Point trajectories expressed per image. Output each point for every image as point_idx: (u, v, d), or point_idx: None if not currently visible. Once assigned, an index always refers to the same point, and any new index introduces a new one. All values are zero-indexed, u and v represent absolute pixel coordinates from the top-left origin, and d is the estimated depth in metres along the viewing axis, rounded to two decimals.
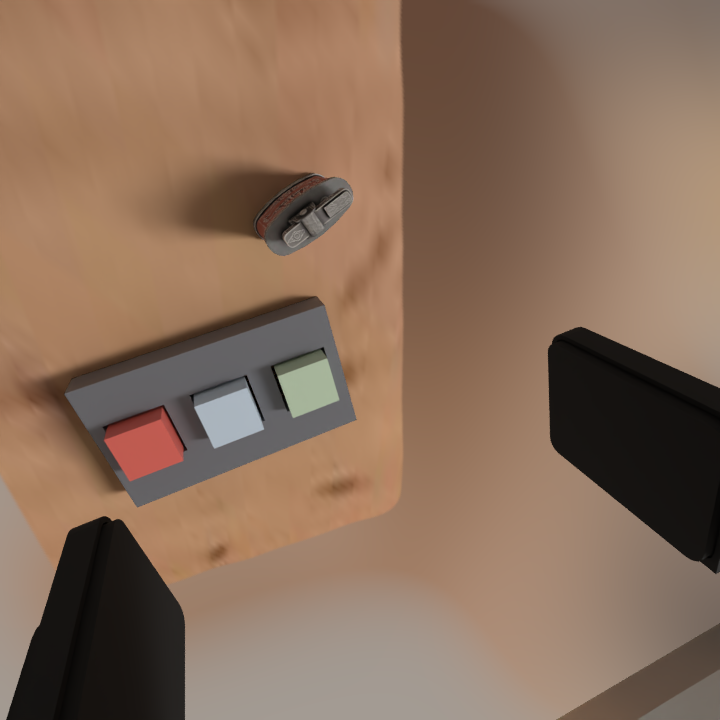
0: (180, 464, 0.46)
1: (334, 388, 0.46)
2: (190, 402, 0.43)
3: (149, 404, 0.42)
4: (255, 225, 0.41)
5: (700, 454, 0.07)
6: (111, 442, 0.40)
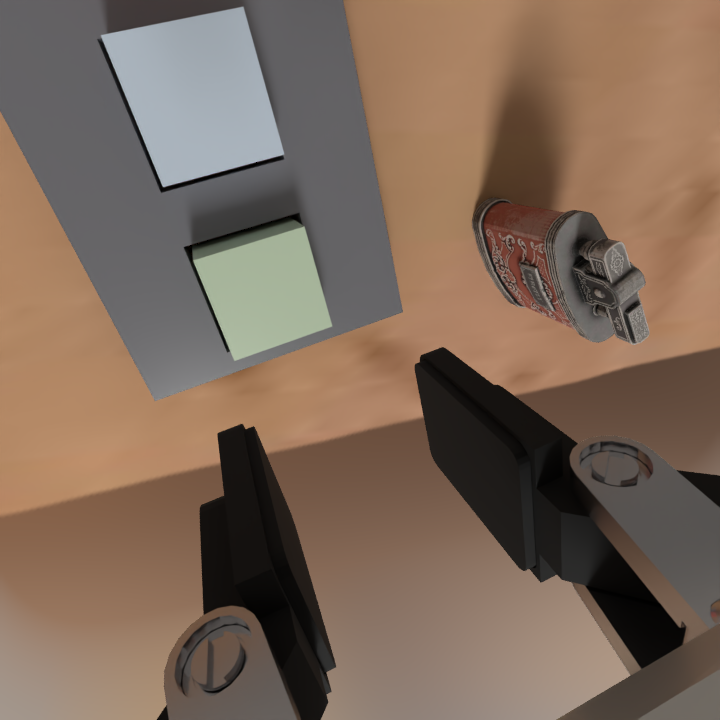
0: None
1: (263, 347, 0.22)
2: (222, 7, 0.18)
3: None
4: (503, 200, 0.28)
5: (507, 472, 0.08)
6: None
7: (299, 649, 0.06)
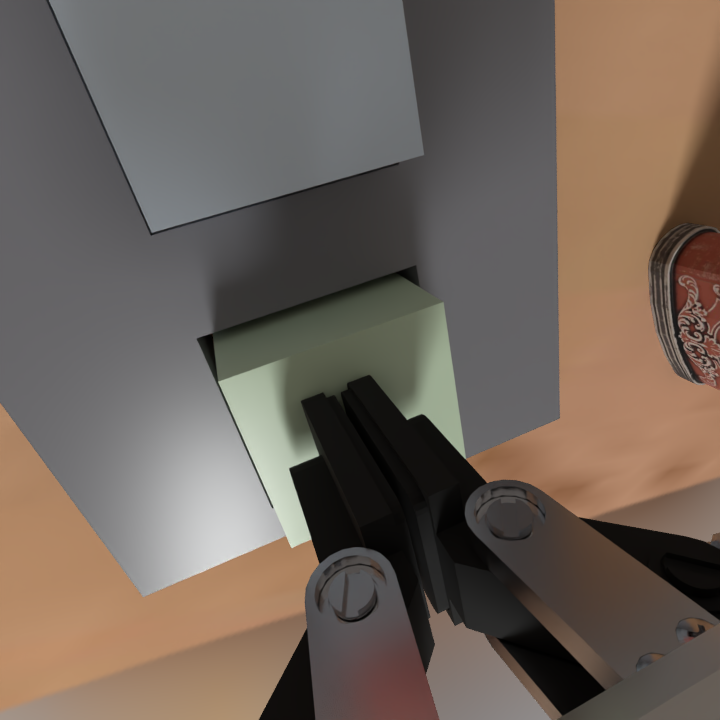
0: None
1: None
2: None
3: None
4: (708, 228, 0.17)
5: (410, 515, 0.07)
6: None
7: (419, 588, 0.06)
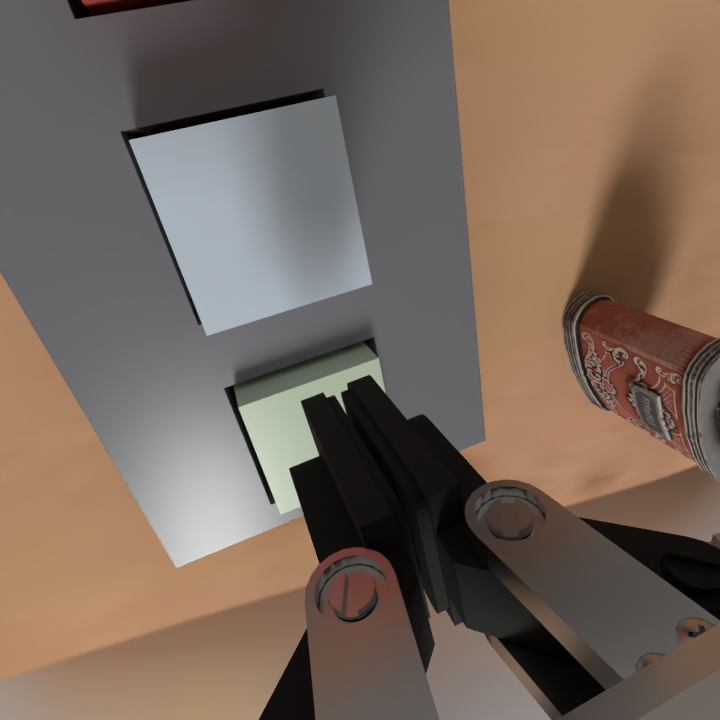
0: None
1: None
2: (296, 86, 0.13)
3: None
4: (603, 296, 0.23)
5: (410, 515, 0.07)
6: None
7: (418, 588, 0.06)
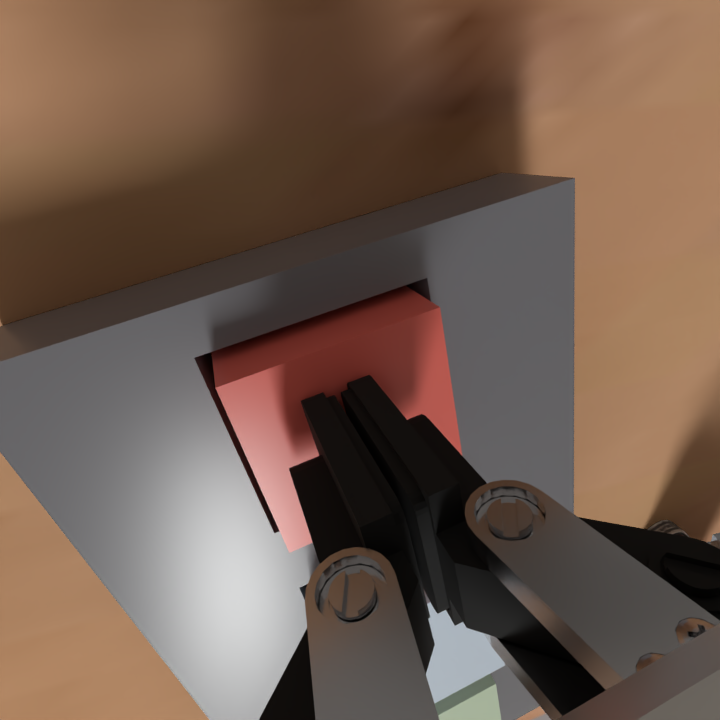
0: (212, 520, 0.12)
1: None
2: None
3: (467, 420, 0.13)
4: (676, 532, 0.24)
5: (410, 516, 0.07)
6: (423, 332, 0.10)
7: (419, 588, 0.06)
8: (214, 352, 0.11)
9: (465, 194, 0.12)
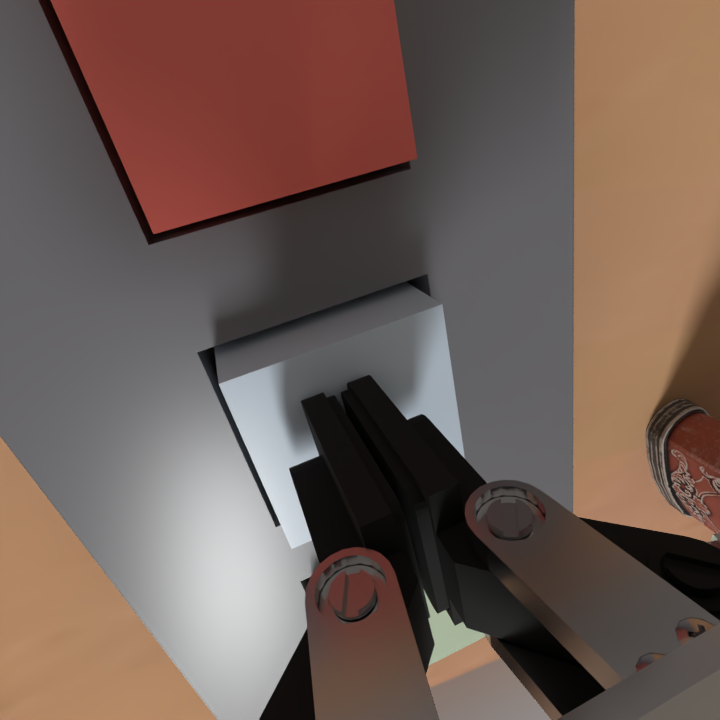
0: (45, 196, 0.08)
1: None
2: (397, 276, 0.11)
3: (425, 107, 0.09)
4: (696, 409, 0.20)
5: (410, 515, 0.07)
6: None
7: (419, 588, 0.06)
8: None
9: None
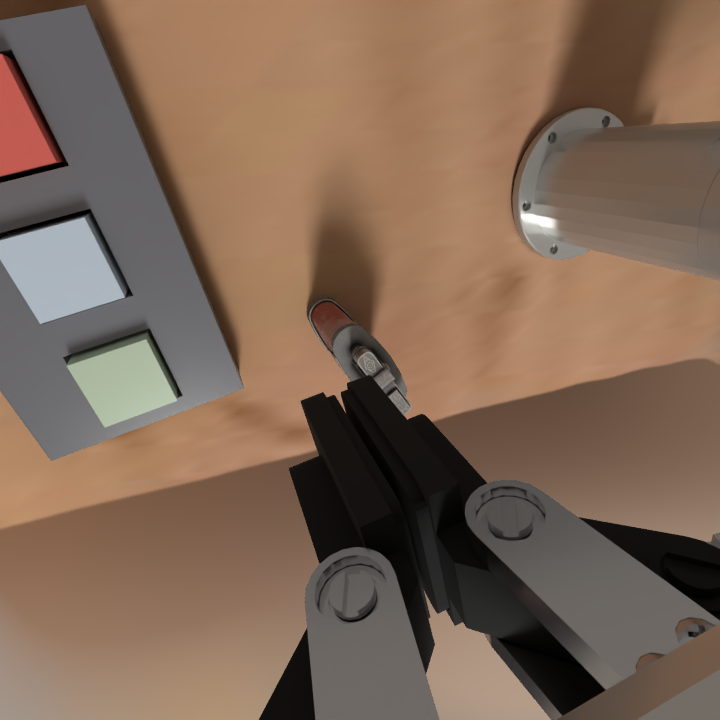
0: None
1: (126, 417, 0.32)
2: (75, 209, 0.27)
3: (68, 142, 0.25)
4: (326, 300, 0.37)
5: (410, 515, 0.07)
6: None
7: (419, 588, 0.06)
8: None
9: None
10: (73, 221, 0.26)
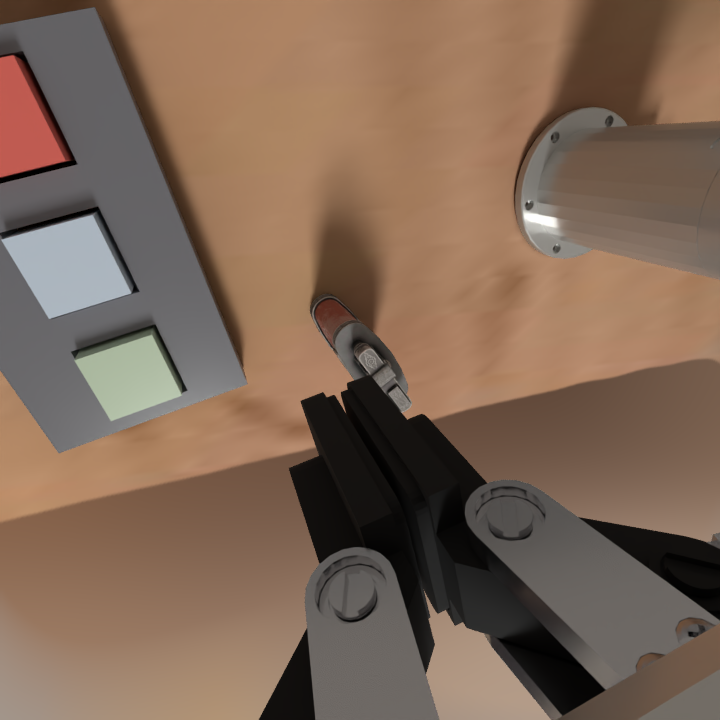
0: None
1: (132, 411, 0.32)
2: (83, 206, 0.27)
3: (77, 142, 0.26)
4: (329, 297, 0.37)
5: (410, 515, 0.07)
6: (8, 67, 0.23)
7: (419, 588, 0.06)
8: None
9: None
10: (81, 218, 0.27)
